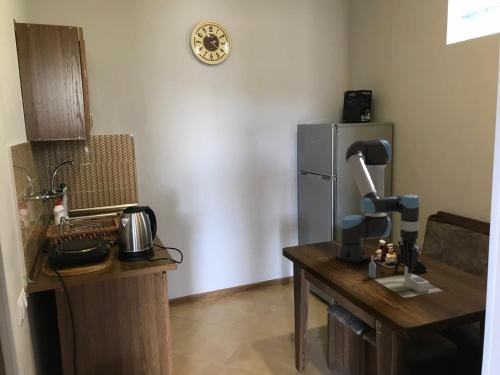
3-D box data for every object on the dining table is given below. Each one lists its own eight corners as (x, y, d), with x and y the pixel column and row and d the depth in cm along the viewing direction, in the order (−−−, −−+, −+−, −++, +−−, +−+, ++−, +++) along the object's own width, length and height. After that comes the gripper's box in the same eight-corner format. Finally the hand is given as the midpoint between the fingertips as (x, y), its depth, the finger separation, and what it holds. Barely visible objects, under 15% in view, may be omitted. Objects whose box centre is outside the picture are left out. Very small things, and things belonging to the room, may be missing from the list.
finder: (404, 283, 186) (404, 275, 186) (413, 282, 188) (414, 273, 187) (419, 292, 177) (419, 282, 176) (428, 290, 178) (429, 281, 178)
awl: (367, 277, 197) (367, 255, 196) (373, 276, 198) (373, 254, 197) (371, 279, 194) (371, 257, 193) (377, 278, 195) (377, 256, 194)
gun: (420, 284, 201) (431, 267, 199) (390, 268, 202) (400, 252, 200) (419, 282, 204) (429, 265, 201) (389, 266, 205) (399, 250, 203)
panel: (374, 280, 193) (374, 279, 193) (410, 274, 199) (410, 273, 198) (403, 299, 172) (403, 297, 172) (442, 292, 178) (443, 290, 178)
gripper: (393, 226, 189) (392, 275, 193) (411, 233, 177) (410, 285, 180) (407, 225, 191) (405, 273, 195) (426, 232, 179) (424, 283, 182)
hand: (408, 279), depth 187 cm, fingers closed
